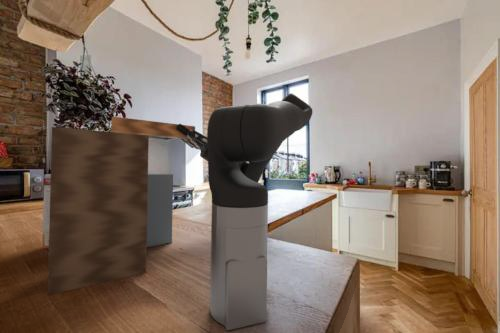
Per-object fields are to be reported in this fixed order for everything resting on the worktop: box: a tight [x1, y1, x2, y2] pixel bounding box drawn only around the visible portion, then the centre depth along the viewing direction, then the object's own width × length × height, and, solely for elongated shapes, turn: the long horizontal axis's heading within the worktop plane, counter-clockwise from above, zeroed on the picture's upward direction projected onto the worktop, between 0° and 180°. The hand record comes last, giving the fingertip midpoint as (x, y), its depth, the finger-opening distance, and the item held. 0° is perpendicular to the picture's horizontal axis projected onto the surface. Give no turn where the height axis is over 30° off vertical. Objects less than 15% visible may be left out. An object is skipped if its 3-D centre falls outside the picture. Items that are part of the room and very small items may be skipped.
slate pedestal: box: [146, 173, 174, 248], centre depth 68 cm, size 16×10×21 cm, turn 124°
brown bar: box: [110, 116, 196, 140], centre depth 70 cm, size 24×4×4 cm, turn 124°
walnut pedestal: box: [47, 126, 150, 296], centre depth 48 cm, size 16×10×30 cm, turn 124°
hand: (175, 127), depth 74 cm, fingers closed on brown bar, 4 cm apart
